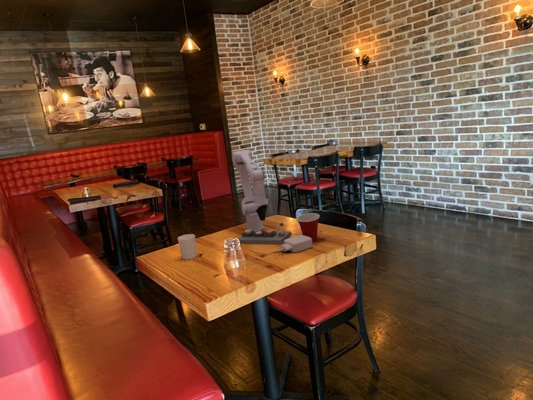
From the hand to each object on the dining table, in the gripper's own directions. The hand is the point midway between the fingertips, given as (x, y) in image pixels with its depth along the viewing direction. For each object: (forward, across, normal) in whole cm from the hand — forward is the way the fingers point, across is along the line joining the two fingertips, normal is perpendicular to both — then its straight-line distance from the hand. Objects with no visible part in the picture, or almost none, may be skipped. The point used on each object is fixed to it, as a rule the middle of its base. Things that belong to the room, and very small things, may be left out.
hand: (262, 220), depth 199 cm
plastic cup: (+10, -2, -25) cm, 27 cm away
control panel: (+9, -2, 0) cm, 10 cm away
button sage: (+6, -2, +8) cm, 10 cm away
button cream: (+7, -2, +2) cm, 8 cm away
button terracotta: (+6, -2, -4) cm, 7 cm away
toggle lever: (+6, -1, -10) cm, 12 cm away
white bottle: (+10, -15, -21) cm, 28 cm away
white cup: (+10, -29, +26) cm, 40 cm away
